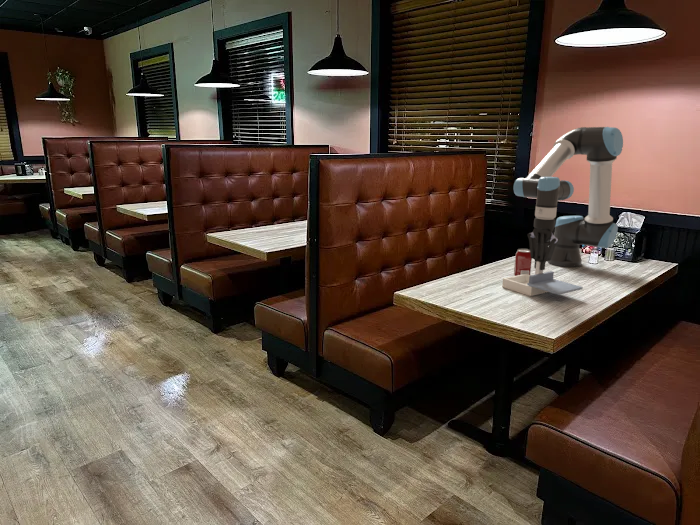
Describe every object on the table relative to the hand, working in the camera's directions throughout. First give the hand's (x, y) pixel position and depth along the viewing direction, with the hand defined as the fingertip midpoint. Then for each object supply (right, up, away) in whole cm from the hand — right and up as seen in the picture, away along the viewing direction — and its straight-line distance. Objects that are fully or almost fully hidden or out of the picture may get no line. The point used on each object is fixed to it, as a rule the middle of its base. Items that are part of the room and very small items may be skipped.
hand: (538, 277), depth 196 cm
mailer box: (-2, -5, +5) cm, 7 cm away
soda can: (+1, -1, +22) cm, 22 cm away
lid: (+4, -4, -6) cm, 8 cm away
